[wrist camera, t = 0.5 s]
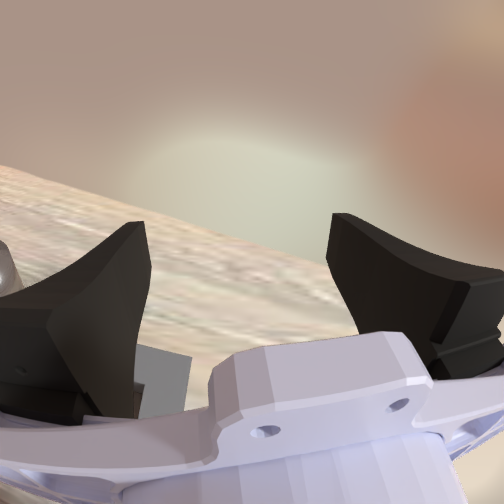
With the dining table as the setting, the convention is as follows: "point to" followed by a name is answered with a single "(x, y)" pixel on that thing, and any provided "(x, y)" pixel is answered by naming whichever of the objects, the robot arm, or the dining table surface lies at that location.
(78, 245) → the dining table surface
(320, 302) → the dining table surface
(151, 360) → the bore block
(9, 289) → the round dowel
